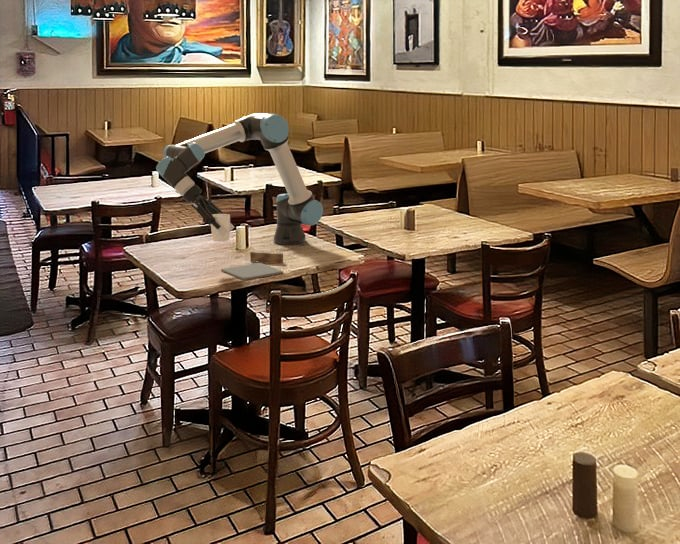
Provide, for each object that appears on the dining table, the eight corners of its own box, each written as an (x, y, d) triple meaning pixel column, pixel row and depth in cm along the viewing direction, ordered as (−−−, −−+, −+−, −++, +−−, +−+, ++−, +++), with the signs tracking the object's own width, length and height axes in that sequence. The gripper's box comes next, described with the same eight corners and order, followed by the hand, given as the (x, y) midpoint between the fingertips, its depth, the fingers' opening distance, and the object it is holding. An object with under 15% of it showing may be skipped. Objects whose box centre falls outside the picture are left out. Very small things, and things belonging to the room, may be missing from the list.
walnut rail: (250, 261, 319) (250, 252, 318) (252, 260, 321) (252, 251, 320) (281, 263, 315) (281, 254, 314) (283, 262, 317) (282, 253, 316)
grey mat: (259, 264, 314) (259, 262, 314) (283, 273, 300) (282, 271, 300) (221, 270, 304) (221, 269, 303) (243, 280, 290) (243, 278, 289)
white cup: (208, 238, 304) (208, 214, 302) (228, 237, 307) (227, 213, 305) (213, 242, 297) (212, 217, 295) (233, 241, 300) (232, 216, 298)
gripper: (191, 193, 310) (230, 232, 312) (173, 200, 291) (214, 243, 292) (203, 180, 308) (242, 220, 310) (185, 187, 288) (227, 230, 290)
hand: (228, 231), depth 301 cm, fingers closed on white cup, 8 cm apart
